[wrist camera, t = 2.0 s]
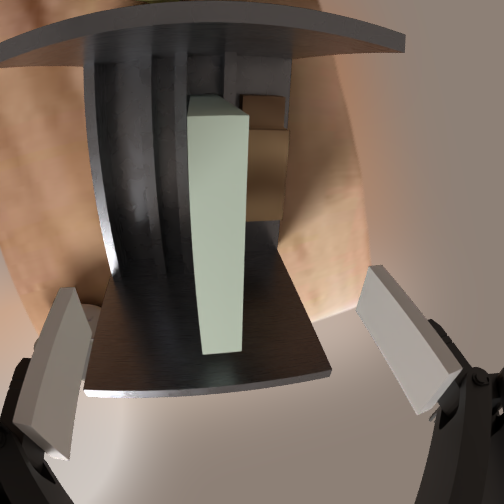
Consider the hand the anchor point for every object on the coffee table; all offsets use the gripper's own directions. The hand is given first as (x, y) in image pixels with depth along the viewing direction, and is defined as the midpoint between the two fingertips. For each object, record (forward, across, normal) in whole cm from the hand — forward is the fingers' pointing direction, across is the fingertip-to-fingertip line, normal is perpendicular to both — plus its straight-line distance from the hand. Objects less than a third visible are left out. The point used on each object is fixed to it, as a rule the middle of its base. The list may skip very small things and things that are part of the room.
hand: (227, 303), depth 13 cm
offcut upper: (+19, +5, 0) cm, 20 cm away
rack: (+22, -1, 0) cm, 22 cm away
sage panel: (+21, 0, 0) cm, 21 cm away
